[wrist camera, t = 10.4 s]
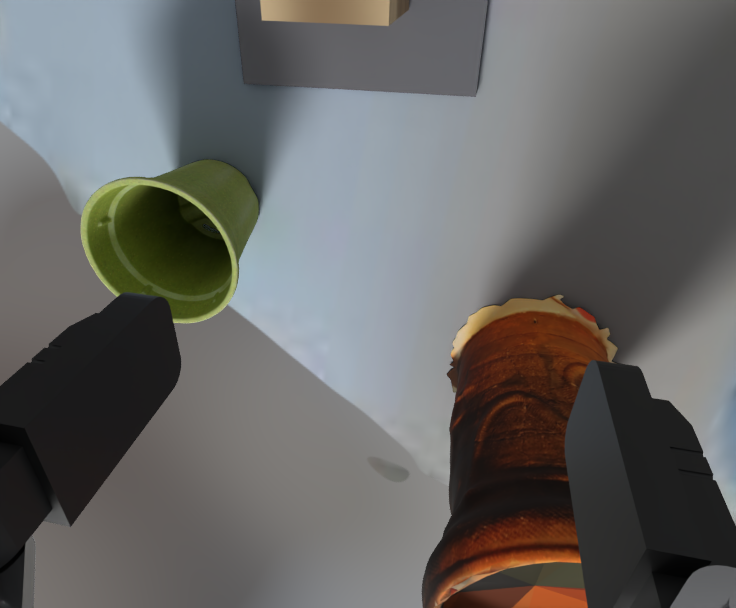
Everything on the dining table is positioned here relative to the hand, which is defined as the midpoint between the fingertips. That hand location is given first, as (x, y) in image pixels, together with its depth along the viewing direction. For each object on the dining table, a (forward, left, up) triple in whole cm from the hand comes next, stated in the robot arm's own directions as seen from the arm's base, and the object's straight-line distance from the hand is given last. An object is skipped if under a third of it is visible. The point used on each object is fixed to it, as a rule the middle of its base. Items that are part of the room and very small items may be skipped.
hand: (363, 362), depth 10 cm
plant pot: (+15, +8, -25) cm, 31 cm away
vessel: (-9, +20, -25) cm, 34 cm away
